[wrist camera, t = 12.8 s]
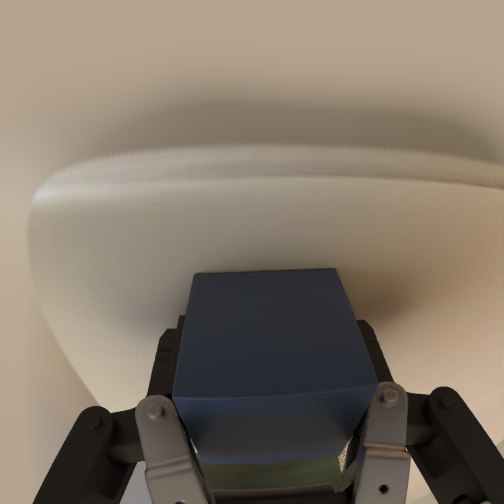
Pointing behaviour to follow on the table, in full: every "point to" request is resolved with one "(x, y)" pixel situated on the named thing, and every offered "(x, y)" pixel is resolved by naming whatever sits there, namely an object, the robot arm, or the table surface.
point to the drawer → (272, 480)
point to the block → (271, 367)
